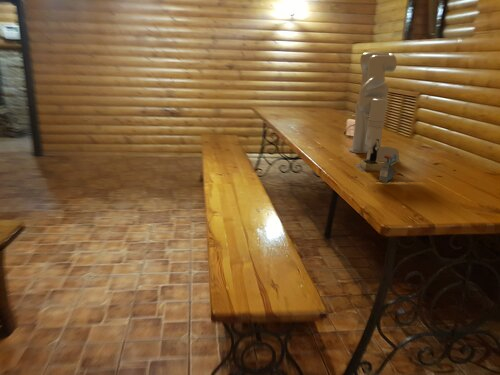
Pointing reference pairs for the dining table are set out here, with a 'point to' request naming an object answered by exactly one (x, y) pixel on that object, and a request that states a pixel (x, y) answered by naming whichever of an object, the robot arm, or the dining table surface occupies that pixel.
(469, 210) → the dining table surface
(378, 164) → the square socket board
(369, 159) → the beige cylindrical canister
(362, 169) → the base board
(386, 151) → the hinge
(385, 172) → the label tape box
